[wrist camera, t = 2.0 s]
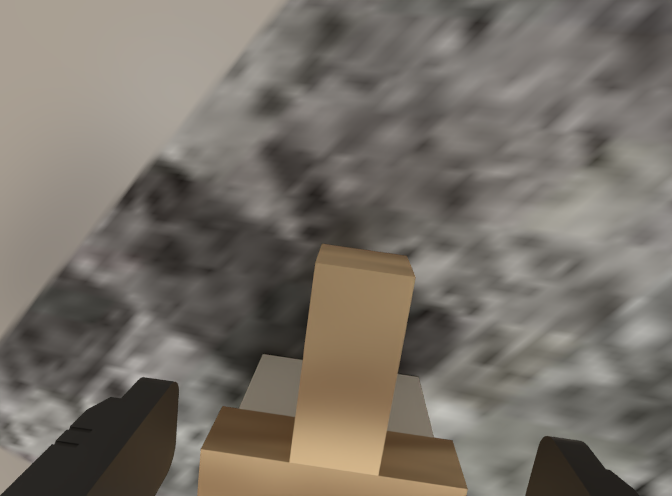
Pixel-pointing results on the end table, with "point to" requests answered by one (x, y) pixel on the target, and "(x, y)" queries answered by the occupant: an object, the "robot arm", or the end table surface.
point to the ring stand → (283, 386)
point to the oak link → (337, 401)
